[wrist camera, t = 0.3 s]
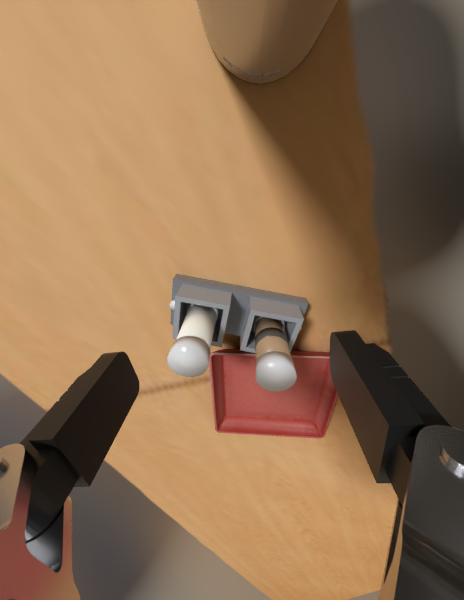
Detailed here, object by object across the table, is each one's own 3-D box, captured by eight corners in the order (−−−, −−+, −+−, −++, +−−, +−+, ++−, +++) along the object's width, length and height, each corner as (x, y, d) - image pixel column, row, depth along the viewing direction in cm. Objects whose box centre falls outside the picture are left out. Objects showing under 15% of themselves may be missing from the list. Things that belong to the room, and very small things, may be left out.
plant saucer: (217, 415, 42) (215, 434, 39) (211, 337, 33) (207, 354, 30) (319, 420, 41) (324, 439, 38) (341, 340, 32) (350, 357, 29)
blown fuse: (257, 305, 27) (261, 360, 20) (286, 311, 28) (302, 367, 20) (250, 329, 29) (252, 387, 21) (278, 334, 29) (289, 394, 22)
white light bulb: (191, 293, 27) (168, 343, 19) (221, 298, 27) (210, 351, 19) (188, 317, 29) (166, 373, 21) (216, 323, 29) (205, 379, 21)
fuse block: (175, 273, 28) (163, 291, 24) (306, 298, 28) (315, 319, 24) (173, 317, 31) (162, 338, 27) (290, 338, 31) (296, 362, 28)
